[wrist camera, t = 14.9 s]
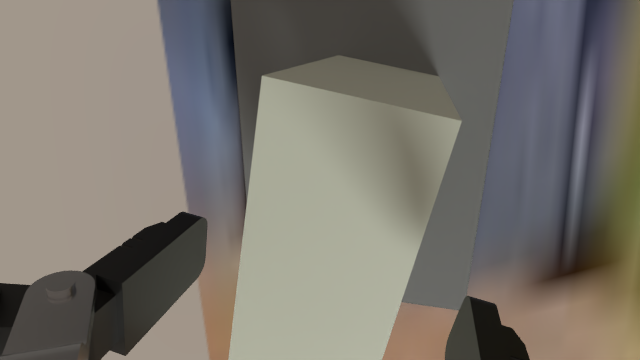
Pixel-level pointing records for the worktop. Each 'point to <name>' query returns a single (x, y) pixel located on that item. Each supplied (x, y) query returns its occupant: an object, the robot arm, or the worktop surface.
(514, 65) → the worktop surface
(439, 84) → the tall sage green block
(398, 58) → the mat
